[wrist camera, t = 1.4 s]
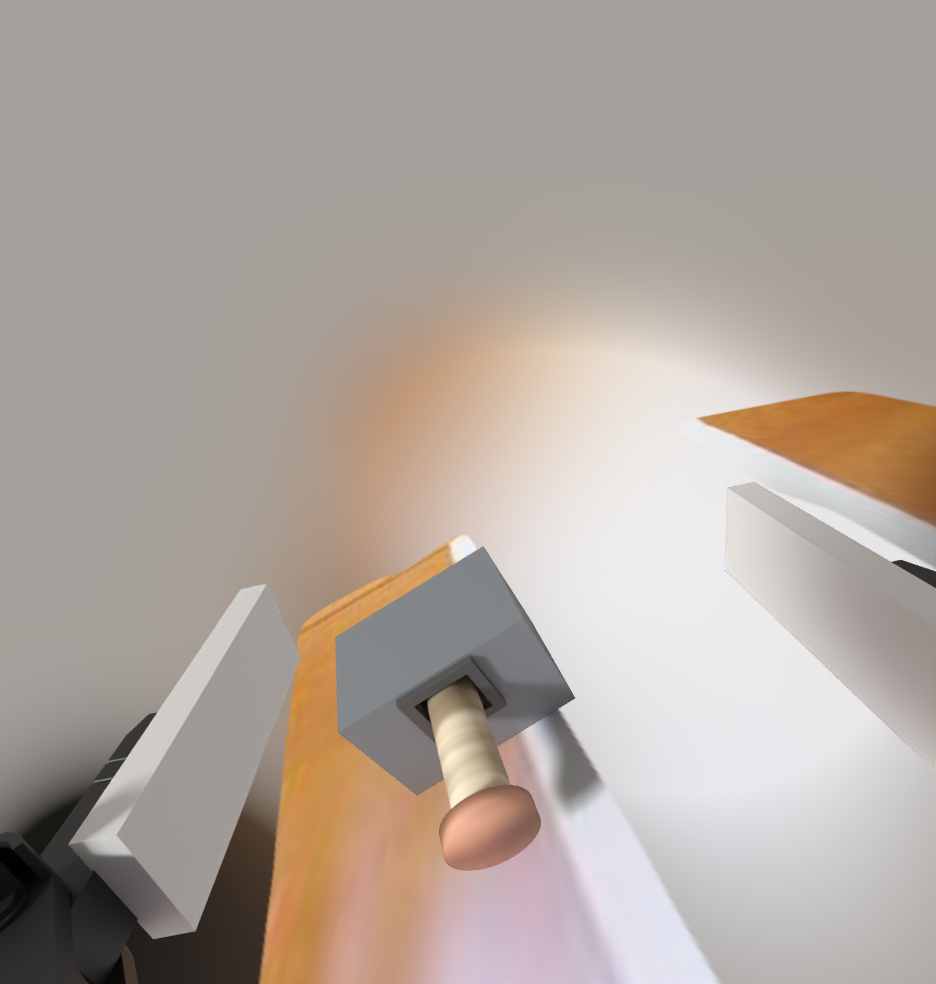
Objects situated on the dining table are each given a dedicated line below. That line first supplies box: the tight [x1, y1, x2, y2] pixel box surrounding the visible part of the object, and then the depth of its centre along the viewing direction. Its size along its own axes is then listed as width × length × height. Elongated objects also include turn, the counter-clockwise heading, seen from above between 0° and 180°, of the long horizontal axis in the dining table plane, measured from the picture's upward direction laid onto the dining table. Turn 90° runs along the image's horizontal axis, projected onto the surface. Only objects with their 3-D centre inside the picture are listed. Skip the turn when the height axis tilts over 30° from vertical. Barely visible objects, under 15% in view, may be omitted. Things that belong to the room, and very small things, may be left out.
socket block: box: [335, 547, 575, 795], centre depth 41 cm, size 11×16×12 cm, turn 108°
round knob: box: [426, 675, 541, 871], centre depth 33 cm, size 13×6×6 cm, turn 18°
